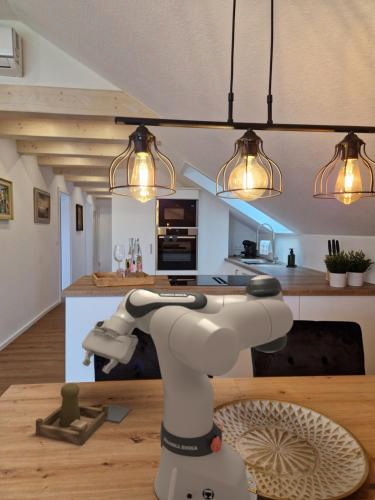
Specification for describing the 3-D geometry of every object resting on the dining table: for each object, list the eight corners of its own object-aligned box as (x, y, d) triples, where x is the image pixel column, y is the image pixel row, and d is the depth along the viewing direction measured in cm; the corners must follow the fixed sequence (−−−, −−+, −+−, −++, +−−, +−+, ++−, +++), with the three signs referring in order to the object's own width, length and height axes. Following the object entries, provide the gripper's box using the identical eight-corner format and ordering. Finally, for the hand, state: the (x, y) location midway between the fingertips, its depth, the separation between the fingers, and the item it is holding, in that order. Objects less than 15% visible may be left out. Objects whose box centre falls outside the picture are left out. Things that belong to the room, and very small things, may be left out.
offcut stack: (89, 432, 91) (89, 420, 91) (81, 440, 87) (81, 427, 87) (74, 429, 92) (74, 417, 92) (66, 437, 88) (66, 424, 88)
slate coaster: (131, 409, 103) (131, 407, 103) (119, 423, 96) (119, 421, 96) (108, 405, 105) (108, 403, 105) (95, 419, 98) (95, 417, 98)
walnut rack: (107, 418, 98) (108, 405, 98) (83, 444, 86) (83, 430, 85) (65, 410, 102) (65, 397, 102) (35, 434, 89) (35, 420, 89)
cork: (66, 414, 99) (66, 379, 99) (84, 417, 98) (85, 381, 98) (54, 426, 94) (54, 388, 93) (73, 429, 92) (74, 391, 92)
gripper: (144, 341, 107) (123, 381, 99) (102, 330, 119) (80, 365, 111) (135, 331, 103) (111, 372, 96) (92, 321, 115) (68, 356, 107)
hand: (94, 368), depth 103 cm, fingers open, 8 cm apart
